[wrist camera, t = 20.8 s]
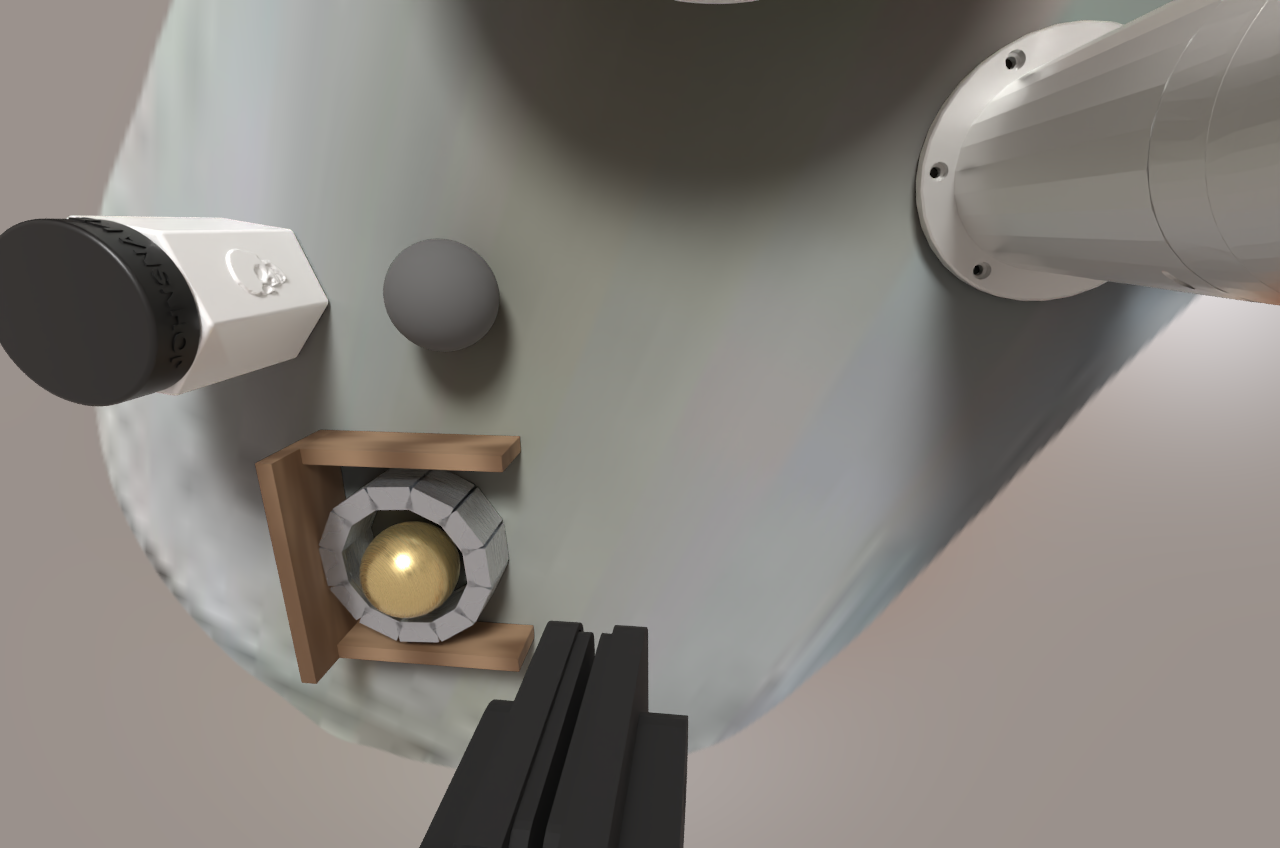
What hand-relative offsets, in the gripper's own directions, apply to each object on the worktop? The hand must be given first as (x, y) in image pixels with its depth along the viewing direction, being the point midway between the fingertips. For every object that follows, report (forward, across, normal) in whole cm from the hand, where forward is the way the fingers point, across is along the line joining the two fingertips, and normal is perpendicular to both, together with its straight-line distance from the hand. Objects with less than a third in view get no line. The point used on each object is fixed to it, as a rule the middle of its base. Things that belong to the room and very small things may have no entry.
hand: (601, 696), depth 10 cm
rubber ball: (+24, +13, -4) cm, 28 cm away
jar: (+27, +26, -4) cm, 38 cm away
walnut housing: (+27, +17, +12) cm, 34 cm away
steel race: (+27, +17, +13) cm, 35 cm away
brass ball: (+24, +17, +13) cm, 32 cm away
